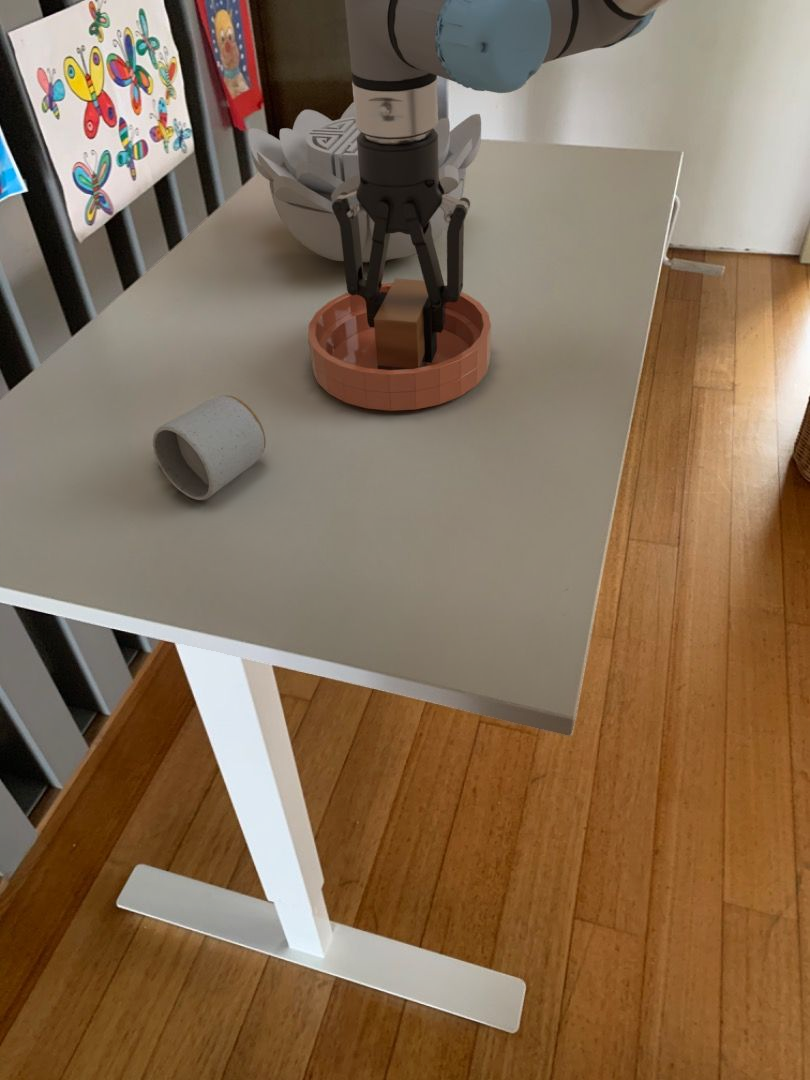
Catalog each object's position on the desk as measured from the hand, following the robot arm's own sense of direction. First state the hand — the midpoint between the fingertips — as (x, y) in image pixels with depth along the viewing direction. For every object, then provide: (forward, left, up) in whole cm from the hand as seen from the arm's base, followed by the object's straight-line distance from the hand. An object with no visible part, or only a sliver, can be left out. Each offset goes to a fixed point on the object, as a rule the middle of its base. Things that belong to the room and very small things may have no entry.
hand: (407, 353), depth 93 cm
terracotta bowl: (+1, 0, -1) cm, 2 cm away
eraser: (0, 0, 0) cm, 0 cm away
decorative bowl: (+13, -29, -2) cm, 32 cm away
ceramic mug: (+15, +22, -2) cm, 27 cm away
